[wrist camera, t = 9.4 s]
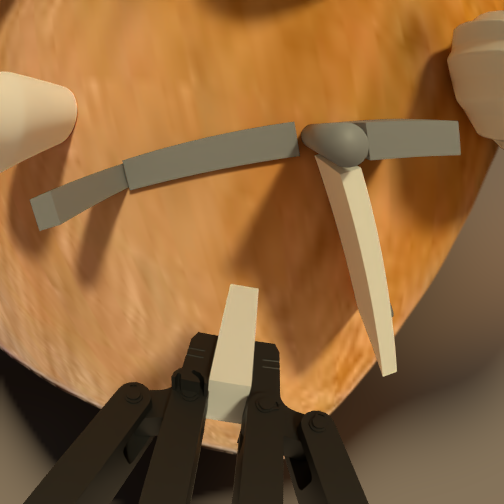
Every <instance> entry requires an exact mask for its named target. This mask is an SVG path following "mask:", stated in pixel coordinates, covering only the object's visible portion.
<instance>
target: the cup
mask: <svg viewBox="0 0 504 504" xmlns="http://www.w3.org/2000/svg"><path fill="white" fill-rule="evenodd" d="M76 118H77V103H76V99H75V97H74V95H73V93H72V92H71V91H70V90H69V89H68V88H66V87H63V86H60V85H56V84H53V83H50V82H46V81H43V80H39V79H35V78H32V77H28V76H24V75H20V74H16V73H12V72H0V173H1V172H3V171H5V170H7V169H9V168H11V167H13V166H14V165H16V164H18V163H20V162H22V161H24V160H26V159H28V158H30V157H32V156H34V155H36V154H38V153H41V152H43V151H45V150H47V149H49V148H51V147H54V146H56V145H58V144H60V143H62V142H64V141H65V140H66V139H67V138H68V136H69V135H70V134H71V132H72V130H73V128H74V125H75V122H76Z"/></svg>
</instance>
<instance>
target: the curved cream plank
mask: <svg viewBox="0 0 504 504" xmlns="http://www.w3.org/2000/svg"><path fill="white" fill-rule="evenodd" d="M314 156H315V159H316V162H317V165H318V168H319V170H320V173H321V177H322V180H323V183H324V186H325V189H326V192H327V195H328V198H329V202H330V205H331V208H332V212H333V215H334V218H335V222H336V225H337V229H338V232H339V236H340V239H341V243H342V247H343V250H344V254H345V258H346V262H347V266H348V270H349V274H350V278H351V282H352V286H353V290H354V295H355V299H356V303H357V307H358V310H359V313H360V315H361V318H362V320H363V323H364V325H365V328H366V331H367V333H368V336H369V339H370V342H371V344H372V347H373V350H374V353H375V355H376V358H377V361H378V364H379V367H380V370H381V373H382V375H383V376H386V375H389V374H392V373H395V372H397V367H396V354H395V344H394V333H393V324H392V317H393V310H392V306H391V304H390V300H389V293H388V287H387V281H386V275H385V269H384V263H383V258H382V253H381V247H380V243H379V238H378V233H377V228H376V224H375V220H374V215H373V211H372V207H371V203H370V199H369V195H368V191H367V187H366V184H365V180H364V176H363V173H362V169H361V168H360V167H358V166H355V167H350V168H345V167H341V166H338V165H336V164H335V163H333V162H332V161H330V160H328V159H327V158H325V157H323V156H322V155H320V154H318V155H314Z"/></svg>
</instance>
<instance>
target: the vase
mask: <svg viewBox="0 0 504 504" xmlns="http://www.w3.org/2000/svg"><path fill="white" fill-rule="evenodd" d="M447 63H448V68H449V73H450V77H451V80H452V85H453V90H454V93H455V97H456V100H457V102H458V103H459V105H460V106H461V107H462V108H463V110H464V111H465V113H466V115H467V117H468V118H469V120H470V122H471V124H472V125H473V127H474V129H475V130H476V132H477V134H478V135H480V136H483V137H485V138H489V139H493V140H494V141H495V142H496V143H497V144H498V145H499V146H500V148H502V149H504V11H492V12H487V13H484V14H482V15H479V16H478V17H476V18H475V19H474V20H473V21H470V22H466V23H463V24H461V25H459V26H458V27H456V28H455V29H454V32H453V40H452V50H451V53H450V55H449V56H448V58H447Z"/></svg>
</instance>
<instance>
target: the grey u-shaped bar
mask: <svg viewBox="0 0 504 504" xmlns="http://www.w3.org/2000/svg"><path fill="white" fill-rule="evenodd" d="M301 139H302V142H303V143H304V144H305V145H306V146H307V147H308V148H310V149H312V150H314V151H315V152H317V153H319V154H320V155H322V156H323V157H325V158H327V159H328V160H330V161H332V162H333V163H335V164H336V165H338V166H341V167H345V168H350V167H355V166H357V165H359V164H360V163H362V162H363V161H364V159H365V158H366V159H368V160H380V159H392V158H406V157H423V156H445V155H461V149H460V135H459V125H458V121H448V120H427V119H380V120H363V121H349V122H338V123H322V124H310V125H307V126H306V127H305V128H304V129H303V130H302V133H301ZM296 156H300V153H299V147H298V141H297V135H296V129H295V124H294V122H289V123H282V124H275V125H269V126H263V127H257V128H252V129H246V130H241V131H236V132H231V133H226V134H221V135H216V136H212V137H207V138H203V139H199V140H194V141H190V142H186V143H182V144H178V145H175V146H171V147H167V148H163V149H160V150H156V151H153V152H149V153H146V154H142V155H139V156H136V157H133V158H129V159H126V160H123V164H121V165H118V166H114V167H111V168H108V169H105V170H103V171H100V172H97V173H94V174H91V175H89V176H86V177H83V178H81V179H78V180H75V181H73V182H70V183H68V184H65V185H63V186H60V187H58V188H55V189H53V190H51V191H48V192H46V193H43V194H41V195H39V196H37V197H34V198H32V199H30V202H31V206H32V209H33V212H34V215H35V218H36V222H37V225H38V228H39V231H41V230H44V229H48V228H51V227H54V226H57V225H61V224H62V223H64V222H66V221H67V220H69V219H71V218H72V217H74V216H76V215H78V214H79V213H81V212H83V211H85V210H86V209H88V208H90V207H92V206H94V205H96V204H97V203H99V202H101V201H103V200H105V199H107V198H109V197H110V196H112V195H114V194H116V193H118V192H120V191H122V190H124V189H126V188H128V187H129V189H130V190H133V189H137V188H141V187H145V186H149V185H153V184H157V183H161V182H165V181H169V180H173V179H178V178H182V177H186V176H191V175H195V174H200V173H205V172H209V171H214V170H219V169H224V168H230V167H235V166H240V165H246V164H251V163H257V162H263V161H269V160H276V159H282V158H289V157H296ZM123 165H124V166H123ZM124 169H125V170H124ZM125 173H126V174H125ZM126 177H127V178H126ZM127 181H128V182H127ZM128 185H129V186H128Z"/></svg>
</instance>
